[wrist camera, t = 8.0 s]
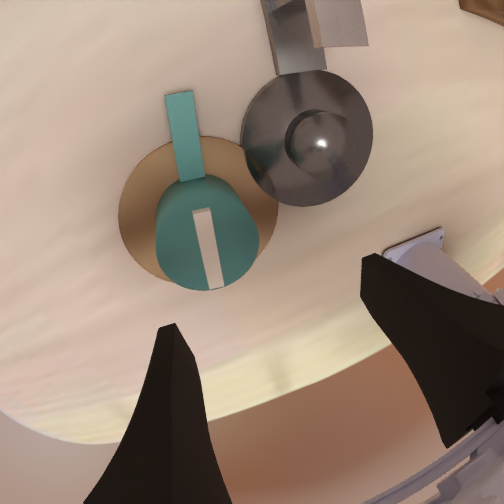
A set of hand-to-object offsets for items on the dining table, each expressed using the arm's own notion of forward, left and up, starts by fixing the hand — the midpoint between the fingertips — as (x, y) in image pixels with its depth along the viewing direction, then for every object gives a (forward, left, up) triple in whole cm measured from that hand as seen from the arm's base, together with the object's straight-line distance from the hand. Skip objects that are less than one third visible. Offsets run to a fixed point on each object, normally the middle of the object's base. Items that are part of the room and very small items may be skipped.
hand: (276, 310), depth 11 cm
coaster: (0, +2, -10) cm, 10 cm away
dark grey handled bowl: (+5, -6, -10) cm, 13 cm away
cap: (+2, +1, -9) cm, 10 cm away
